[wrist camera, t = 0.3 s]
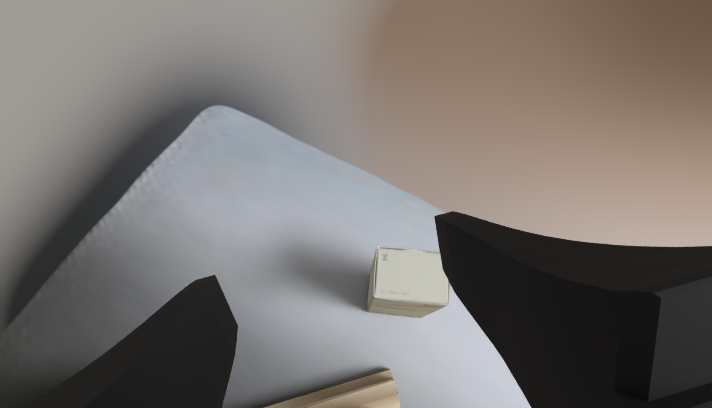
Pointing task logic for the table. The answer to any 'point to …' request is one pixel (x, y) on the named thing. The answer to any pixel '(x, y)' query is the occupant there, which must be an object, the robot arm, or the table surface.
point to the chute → (351, 394)
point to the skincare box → (407, 282)
